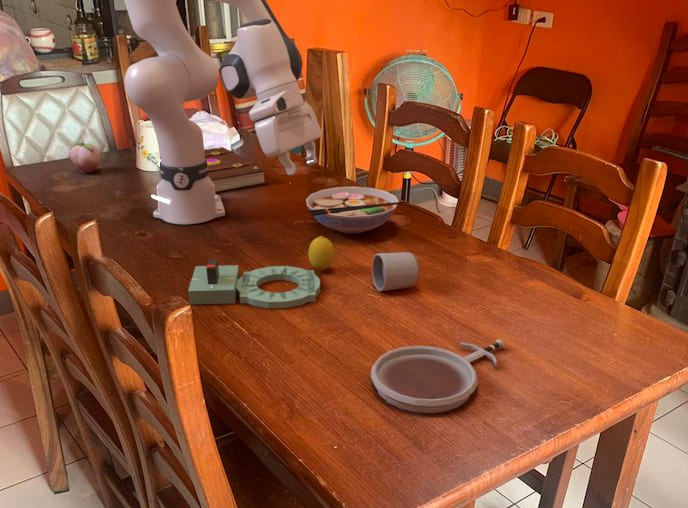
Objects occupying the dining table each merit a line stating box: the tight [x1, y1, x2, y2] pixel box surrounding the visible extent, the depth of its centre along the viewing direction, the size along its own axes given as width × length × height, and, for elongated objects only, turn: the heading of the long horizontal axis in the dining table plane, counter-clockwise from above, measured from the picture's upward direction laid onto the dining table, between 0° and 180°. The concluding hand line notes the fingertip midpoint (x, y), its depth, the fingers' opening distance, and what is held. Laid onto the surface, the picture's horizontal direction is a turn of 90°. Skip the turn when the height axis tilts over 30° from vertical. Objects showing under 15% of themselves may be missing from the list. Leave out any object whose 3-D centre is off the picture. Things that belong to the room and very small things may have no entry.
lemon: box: [308, 235, 335, 272], centre depth 145 cm, size 6×6×8 cm
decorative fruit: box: [69, 139, 102, 174], centre depth 210 cm, size 9×8×10 cm
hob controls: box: [187, 264, 240, 305], centre depth 138 cm, size 12×9×3 cm
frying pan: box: [370, 338, 505, 414], centre depth 111 cm, size 17×3×28 cm
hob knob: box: [206, 259, 219, 284], centre depth 136 cm, size 4×2×4 cm, turn 3°
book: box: [204, 146, 267, 194], centre depth 206 cm, size 23×32×5 cm
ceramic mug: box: [371, 251, 421, 292], centre depth 139 cm, size 11×8×8 cm
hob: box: [236, 265, 321, 309], centre depth 139 cm, size 17×17×2 cm
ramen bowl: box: [305, 186, 411, 235], centre depth 167 cm, size 25×23×8 cm
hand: (303, 168), depth 144 cm, fingers open, 8 cm apart
